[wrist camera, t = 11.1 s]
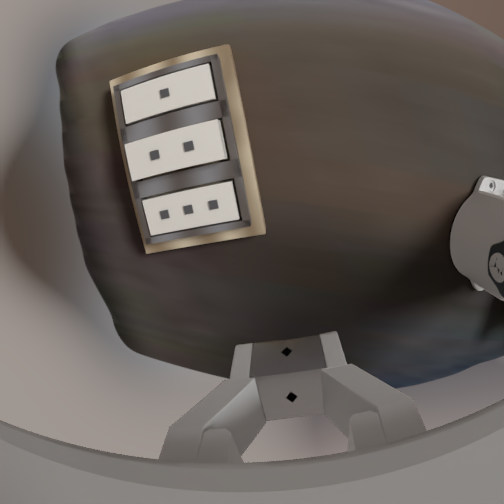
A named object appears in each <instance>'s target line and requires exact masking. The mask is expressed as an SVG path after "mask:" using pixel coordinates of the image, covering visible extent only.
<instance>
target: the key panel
mask: <svg viewBox="0 0 504 504" xmlns="http://www.w3.org/2000/svg"><path fill="white" fill-rule="evenodd" d="M204 64H209V65H210V66H211V67H212V72H213V77H214V82H215V87H216V92H217V97H218V101H215V102H211V103H207V104H203V105H199V106H195V107H191V108H187V109H183V110H179V111H176V112H172V113H169V114H165V115H162V116H159V117H155V118H152V119H149V120H146V121H143V122H140V123H137V124H134V125H130V124H126V121H125V115H124V109H123V103H122V97H121V91H122V90H124V89H127V88H130V87H132V86H135V85H138V84H141V83H144V82H147V81H149V80H152V79H155V78H159V77H162V76H165V75H168V74H171V73H175V72H178V71H182V70H185V69H189V68H192V67H196V66H200V65H204ZM110 87H111V94H112V101H113V108H114V114H115V120H116V126H117V131H118V137H119V142H120V147H121V152H122V157H123V162H124V167H125V172H126V176H127V181H128V185H129V189H130V194H131V198H132V202H133V206H134V210H135V214H136V218H137V222H138V225H139V229H140V233H141V237H142V240H143V244H144V247H145V251H146V254H148V253H154V252H160V251H166V250H171V249H177V248H183V247H189V246H195V245H201V244H207V243H213V242H219V241H225V240H231V239H237V238H243V237H249V236H255V235H261V234H266V226H265V220H264V215H263V209H262V204H261V198H260V193H259V187H258V182H257V177H256V171H255V166H254V161H253V155H252V150H251V145H250V140H249V135H248V130H247V124H246V119H245V114H244V109H243V104H242V99H241V94H240V89H239V84H238V79H237V74H236V69H235V65H234V60H233V55H232V50H231V48H230V45H229V44H227V45H222V46H218V47H213V48H209V49H205V50H201V51H197V52H194V53H190V54H186V55H183V56H179V57H176V58H173V59H169V60H166V61H163V62H160V63H157V64H154V65H151V66H148V67H145V68H142V69H140V70H137V71H134V72H131V73H129V74H126V75H124V76H121V77H119V78H116V79H114V80H111V81H110ZM215 119H218V120H220V122H221V127H222V132H223V137H224V142H225V148H226V153H227V159H222V160H217V161H213V162H208V163H203V164H199V165H194V166H190V167H186V168H181V169H177V170H173V171H169V172H165V173H161V174H157V175H153V176H150V177H146V178H142V179H138V180H135V181H132V179H131V174H130V170H129V165H128V160H127V156H126V151H125V146H124V145H125V144H128V143H131V142H134V141H137V140H140V139H143V138H147V137H150V136H153V135H157V134H160V133H164V132H167V131H171V130H175V129H178V128H182V127H186V126H190V125H194V124H198V123H202V122H206V121H211V120H215ZM229 180H234V184H235V189H236V194H237V199H238V204H239V209H240V214H241V216H240V219H239V220H233V221H227V222H221V223H216V224H210V225H205V226H199V227H194V228H188V229H183V230H178V231H172V232H167V233H162V234H157V235H152V236H151V234H150V230H149V226H148V222H147V218H146V215H145V211H144V207H143V202H142V201H143V200H145V199H147V198H150V197H154V196H158V195H163V194H167V193H171V192H176V191H180V190H185V189H189V188H194V187H199V186H204V185H208V184H213V183H218V182H223V181H229Z"/></svg>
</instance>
